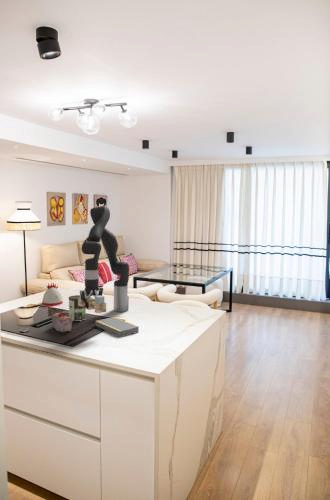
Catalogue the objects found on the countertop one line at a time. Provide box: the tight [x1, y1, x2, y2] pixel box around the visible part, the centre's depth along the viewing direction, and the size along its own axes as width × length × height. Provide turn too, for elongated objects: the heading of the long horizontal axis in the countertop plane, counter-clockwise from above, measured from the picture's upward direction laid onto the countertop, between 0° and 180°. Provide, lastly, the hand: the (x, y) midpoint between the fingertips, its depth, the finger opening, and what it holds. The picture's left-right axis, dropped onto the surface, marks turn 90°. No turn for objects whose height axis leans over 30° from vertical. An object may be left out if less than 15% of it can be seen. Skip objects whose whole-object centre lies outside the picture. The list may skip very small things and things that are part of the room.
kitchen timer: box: [41, 282, 63, 307], centre depth 263 cm, size 14×14×15 cm
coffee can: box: [68, 294, 87, 322], centre depth 227 cm, size 10×10×14 cm
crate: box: [94, 295, 105, 304], centre depth 199 cm, size 4×4×4 cm
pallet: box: [78, 296, 107, 314], centre depth 205 cm, size 6×20×5 cm, turn 44°
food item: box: [51, 311, 73, 333], centre depth 207 cm, size 14×8×10 cm, turn 44°
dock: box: [95, 316, 140, 337], centre depth 211 cm, size 13×24×3 cm, turn 43°
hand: (91, 307), depth 205 cm, fingers closed on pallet, 5 cm apart
